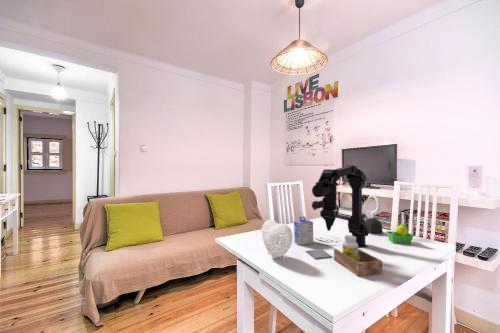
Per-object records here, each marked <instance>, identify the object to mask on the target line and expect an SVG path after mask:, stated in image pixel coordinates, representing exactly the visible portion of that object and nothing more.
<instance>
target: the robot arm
mask: <svg viewBox="0 0 500 333" xmlns="http://www.w3.org/2000/svg"><path fill="white" fill-rule="evenodd" d="M342 177H345V178H346V179H347V180H348V185H349V187H350V188H351V216H350V217H349V218H348V219H347V227H348V228H347V229H348V232H349V234H351V236H355V237H356V241H355V242H356V243H357V244H358V248H363V247H364V248H365V247H368V244H366V237H369V236H368V235H370V234H369V231H368V229H367V227H366V226H365V221H366V220H365V218H364V217H363V212H362V211H363V195H362V194H363V189H364V187H365V186H366V181H367V176H366V175H365V173H364V171H362V170H361V169H359V168H358V167H357V166H356V165H352V164H351V165H348V164H347V165H345V166H343V167H342V166H341V167H338V168H335V169H332V168H331V169H329V168H327V169H325V168H324V169H323V170H322V172H321V174H320V176H319V178H318V181H317V182H315V185H313V186H312V189H311V193H312V196H313V197H314V198H322V199H321V200H314V201H313V202H312V203H311V208H312V210H313V211H316V210H318V209H321V208H322V209H321V210H320V212H319V213H320V214H319V216H320V217H321V218H322V219H324V222H325V226H326V229H327V230H326V231H327V232H328V231H329V232H330V231H331V229H332V226H334V224H335V221H336V218H337V216H338V213H339V210H340V206H339V205H338V204H337V202H338V201H337V200H338V197H337V195H338V194H337V193H338V192H337V188H338V186H339V185H340V184H339V183H338V182H339V181H340V180H341V178H342Z"/></svg>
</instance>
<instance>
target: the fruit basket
mask: <svg viewBox="0 0 500 333" xmlns="http://www.w3.org/2000/svg"><path fill="white" fill-rule="evenodd" d="M395 230H396V231H391V230H388V231H386V235H387V237H388V241H389V242H391V243H393V244H399V245H400V244H403V245H411V244H412V240H413V238H414V235H413V234H412V233H409V229H408V226H407V224H405V223H401V224H400V225H398V226H396V229H395Z"/></svg>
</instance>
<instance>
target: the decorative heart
mask: <svg viewBox="0 0 500 333" xmlns="http://www.w3.org/2000/svg"><path fill="white" fill-rule="evenodd" d="M261 227H262V228H261V238H262V242H263V244H264V246H265V248H266V250H267V252H268V253H267V254H268V256H270V255H271V257H272V258H274V259H279V260H282V256H283V260H282V261H283V262H285V260H286V259H285V254H286V253H287V252H288V251H289V249H290V248H291V246H292V244H293V237H294V235H293V232H292V228H291V227H289V225H287V224H286V223H278V222H277V221H275V220H273V219H268V220H266V221H264V222H263V224H262V226H261Z"/></svg>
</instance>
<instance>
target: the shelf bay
mask: <svg viewBox="0 0 500 333" xmlns="http://www.w3.org/2000/svg"><path fill="white" fill-rule="evenodd" d="M333 260H334V261H335V262H336V263H338V264H339V265H341V266H342V267H343V268H345V269H347V270H348V271H349V272H351V273H352V274H354V275H356V276H357V277H365V276H373V275H380V274H381V275H382V274H383V260H381V259H379V258H378V257H375V256H373V255H371V254H369V253H368V252H366V251H364V250H362V249H359V248H358V262H357V261H356V260H354V259H352V258H351V257H349V256H347V255H346V254H344V253H343V251H341V250H339V249H337V248H333Z"/></svg>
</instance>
